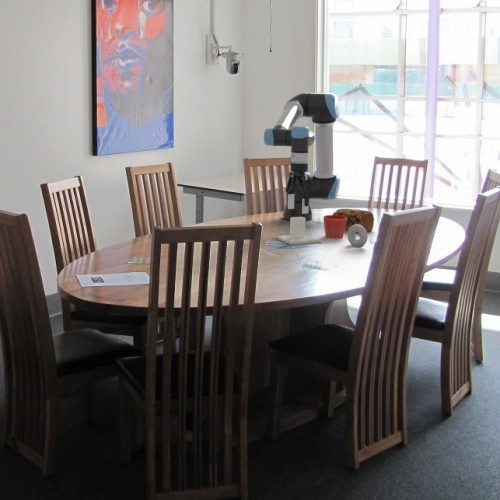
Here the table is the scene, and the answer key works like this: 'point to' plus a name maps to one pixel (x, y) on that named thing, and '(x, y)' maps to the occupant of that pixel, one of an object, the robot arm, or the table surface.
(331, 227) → the flower pot
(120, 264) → the table surface
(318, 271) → the table surface
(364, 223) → the bread
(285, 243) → the mat
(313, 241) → the lid
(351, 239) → the donut
